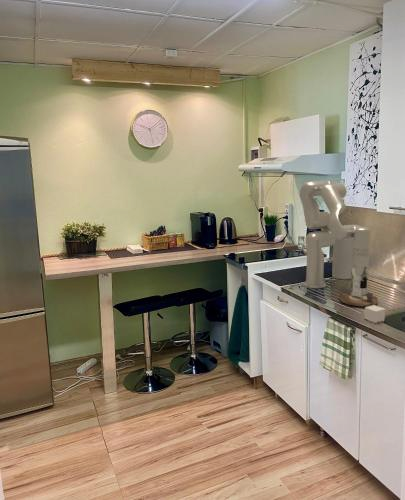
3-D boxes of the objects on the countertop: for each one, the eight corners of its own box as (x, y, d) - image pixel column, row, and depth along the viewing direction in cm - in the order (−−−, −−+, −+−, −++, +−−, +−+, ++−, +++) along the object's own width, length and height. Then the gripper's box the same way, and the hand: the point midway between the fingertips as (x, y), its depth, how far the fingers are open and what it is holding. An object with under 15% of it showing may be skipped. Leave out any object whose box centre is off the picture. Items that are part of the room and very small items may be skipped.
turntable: (357, 292, 224) (357, 282, 223) (385, 302, 208) (386, 291, 207) (332, 298, 216) (332, 288, 215) (359, 308, 200) (360, 297, 199)
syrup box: (354, 292, 216) (355, 265, 213) (365, 294, 212) (367, 267, 209) (350, 295, 211) (351, 267, 208) (362, 297, 208) (363, 269, 205)
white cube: (372, 317, 192) (373, 305, 191) (384, 321, 187) (385, 308, 186) (364, 320, 189) (364, 307, 188) (375, 324, 184) (376, 311, 183)
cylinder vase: (327, 276, 260) (329, 236, 255) (343, 273, 265) (345, 234, 260) (342, 281, 249) (344, 240, 244) (357, 278, 254) (360, 237, 249)
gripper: (345, 248, 215) (343, 281, 218) (363, 256, 198) (361, 291, 202) (358, 247, 216) (356, 280, 220) (377, 255, 199) (375, 290, 203)
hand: (358, 285), depth 211 cm, fingers closed on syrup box, 7 cm apart
